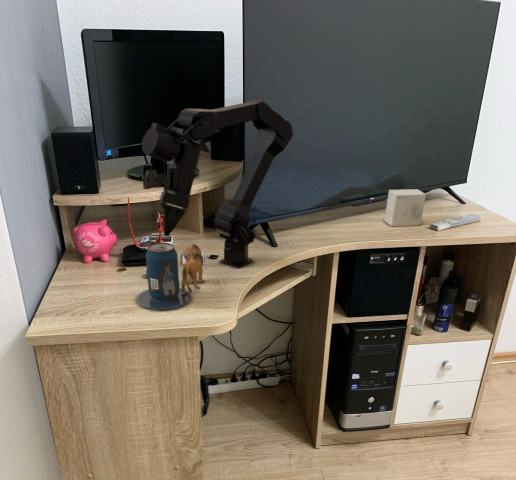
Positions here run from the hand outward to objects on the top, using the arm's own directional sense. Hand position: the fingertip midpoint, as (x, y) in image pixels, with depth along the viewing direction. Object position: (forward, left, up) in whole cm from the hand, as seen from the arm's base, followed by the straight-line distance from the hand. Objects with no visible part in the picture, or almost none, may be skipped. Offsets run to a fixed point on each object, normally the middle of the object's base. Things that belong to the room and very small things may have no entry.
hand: (167, 233), depth 128 cm
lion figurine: (-1, +6, -12) cm, 14 cm away
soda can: (+8, +7, -12) cm, 16 cm away
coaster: (+8, +6, -12) cm, 16 cm away
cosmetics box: (-84, +24, -12) cm, 88 cm away
